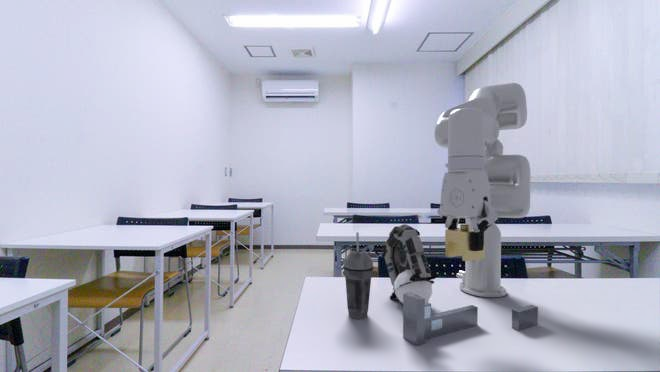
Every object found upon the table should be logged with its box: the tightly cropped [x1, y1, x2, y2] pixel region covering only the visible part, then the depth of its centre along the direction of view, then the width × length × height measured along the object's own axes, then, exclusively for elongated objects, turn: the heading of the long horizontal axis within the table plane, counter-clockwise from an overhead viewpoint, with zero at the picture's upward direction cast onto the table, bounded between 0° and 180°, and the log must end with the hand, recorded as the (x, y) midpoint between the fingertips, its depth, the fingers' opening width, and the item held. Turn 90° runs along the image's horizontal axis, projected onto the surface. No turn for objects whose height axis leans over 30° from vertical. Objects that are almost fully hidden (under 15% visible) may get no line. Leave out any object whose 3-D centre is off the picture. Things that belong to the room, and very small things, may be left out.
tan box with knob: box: [444, 223, 485, 262], centre depth 74 cm, size 6×6×7 cm
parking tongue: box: [511, 304, 539, 332], centre depth 75 cm, size 2×7×4 cm, turn 118°
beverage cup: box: [343, 232, 375, 320], centre depth 80 cm, size 7×7×20 cm
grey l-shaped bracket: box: [402, 292, 479, 347], centre depth 72 cm, size 4×19×9 cm, turn 118°
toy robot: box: [381, 223, 439, 304], centre depth 90 cm, size 18×10×22 cm
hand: (464, 247), depth 74 cm, fingers closed on tan box with knob, 5 cm apart
